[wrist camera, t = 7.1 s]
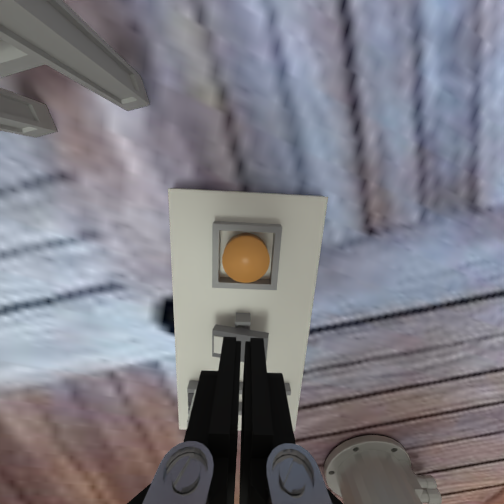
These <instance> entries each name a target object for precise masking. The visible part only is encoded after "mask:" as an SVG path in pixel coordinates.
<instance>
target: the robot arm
mask: <svg viewBox="0 0 504 504" xmlns="http://www.w3.org/2000/svg"><path fill="white" fill-rule="evenodd" d="M240 361H241V341H236V337H223V343H222V349H221V356H220V362H219V369H218V371H205V370H202V371H201V373H200V377H199V381H198V385H197V389H196V394H195V398H194V402H193V406H192V410H191V414H190V418H189V422H188V426H187V431H186V435H185V439H184V442H183V443H180V444H178V445H176V446H175V447H173V448H172V449H171V450H170V451H169V452H168V453H167V454H166V455H165V456H164V458H163V460H162V461H161V463H160V465H159V467H158V470H157V472H156V474H155V476H154V479H153V481H152V483H151V484H150V485H149V486H147V487H146V488H145V489H144V490H143V491H141V492H140V493H139V494H138V495H137V496H136V497H134V498H133V499H132V500H131V501H130V502H129V503H127V504H234V491H235V473H236V455H237V437H238V413H239V387H240ZM324 474H325V478H326V482H327V484H328V486H329V488H330V489H331V490H332V491H333V492H334V493H336V494H337V495H339V496H341V497H342V499H343V502H344V504H422V503H428V504H441V502H442V498H441V495H440V492H439V490H438V489H437V484H436V481H435V479H434V478H433V476H431V475H421V476H417V475H416V474H415V473H413V471H412V470H411V460H410V458H409V455H408V454H407V452H406V451H405V449H404V447H403V446H402V445H401V444H400V443H399V442H397V441H395V440H393V439H391V438H388V437H385V436H379V435H366V436H359V437H356V438H352V439H350V440H347V441H345V442H344V443H342V444H340V445H339V446H337V447H336V448H335V449H334V450H333V451H332V452H331V453H330V454H329V456H328V458H327V459H326V461H325V465H324ZM239 504H343V503H342V502H341V501H340V500H339V499H337V498H336V497H335V496H334V495H333V494H332V493H331V492H330V491H329V490H328V489H327V488H326V486H325V483H324V481H323V478H322V475H321V473H320V470H319V467H318V465H317V463H316V462H315V460H314V458H313V457H312V456H311V455H310V453H309V452H308V451H307V450H305V449H304V448H302V447H301V446H298V445H296V444H295V438H294V433H293V427H292V422H291V416H290V411H289V406H288V400H287V395H286V389H285V384H284V378H283V374H282V373H267V368H266V358H265V348H264V339H263V338H250V341H245V355H244V372H243V389H242V419H241V459H240V500H239Z"/></svg>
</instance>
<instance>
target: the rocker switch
mask: <svg viewBox="0 0 504 504" xmlns="http://www.w3.org/2000/svg"><path fill="white" fill-rule="evenodd" d="M223 337H236V341H241V361H240V362H244V355H245V341H250V338H263V339H264V348H265V358H266V360H267V350H268V339H269V333H267V332H260V331H254V330H248V329H247V326H243V325H239V326H238V328H236V327H229V326H223V325H217V324H216V325H215V326H214V328H213V330H212V356H213V357H218V358H220V356H221V349H222V343H223Z"/></svg>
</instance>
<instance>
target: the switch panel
mask: <svg viewBox="0 0 504 504" xmlns="http://www.w3.org/2000/svg"><path fill="white" fill-rule="evenodd" d="M168 197H169V219H170V240H171V262H172V284H173V306H174V327H175V349H176V371H177V393H178V414H179V429H187V419H188V415H189V411H190V407H188V393H194V391H195V389H197V385H198V381H199V377H200V373H201V371H202V370H205V371H218V369H219V362H220V358H218V357H213V356H212V330H213V328H214V326H215V325H216V324H217V325H223V326H229V327H236V328H238V326H239V325H243V326H247V329H248V330H254V331H260V332H267V333H269V339H268V350H267V360H266V368H267V373H282V374H283V378H284V384H285V389H286V395H287V400H288V406H289V411H290V416H291V422H292V427H293V431H294V432H295V427H296V420H297V413H298V406H299V399H300V392H301V384H302V377H303V370H304V363H305V356H306V349H307V342H308V335H309V328H310V321H311V314H312V307H313V300H314V293H315V286H316V278H317V271H318V264H319V257H320V250H321V243H322V236H323V229H324V222H325V215H326V208H327V201H328V197H325V196H315V195H296V194H278V193H259V192H241V191H222V190H204V189H185V188H170V189H168ZM241 233H251V234H254V235H256V236H258V237H259V238H261V239H262V240H263V241H264V243H265V244H266V247H267V250H268V253H269V258H270V263H269V267H268V270H267V272H266V273H265V274H264V276H262V277H261V278H260V279H258V280H257V281H254V282H250V283H242V282H238V281H235V280H233V279H232V278H230V277H229V276H228V275H227V273H226V272H225V270H224V268H223V264H222V256H223V253H224V249H225V247H226V244H227V243H228V241H229V240H230V239H231V238H232V237H234V236H236V235H238V234H241ZM243 372H244V362H240V387H239V413H238V430H241V419H242V389H243Z"/></svg>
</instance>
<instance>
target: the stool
mask: <svg viewBox="0 0 504 504" xmlns="http://www.w3.org/2000/svg"><path fill="white" fill-rule="evenodd" d="M0 39H2V40H0V78H2V77H5V76H8V75H12V74H15V73H18V72H22V71H25V70H28V69H32V68H35V67H38V66H41V65H47V66H49V67H51V68H53V69H54V70H56V71H58V72H60V73H61V74H63V75H65V76H67V77H68V78H70V79H72V80H74V81H75V82H77V83H79V84H81V85H82V86H84V87H86V88H88V89H89V90H91V91H93V92H95V93H96V94H98V95H100V96H102V97H103V98H105V99H107V100H109V101H111V102H112V103H114V104H116V105H118V106H119V107H121V108H123V109H125V110H126V111H131V110H134V109H138V108H141V107H145V106H148V105H150V103H149V100H148V97H147V94H146V91H145V88H144V85H143V82H142V79H141V76H140V75H139V74H138V73H137V72H136V71H135V70H134V69H133V68H132V67H130V66H129V65H128V64H127V63H126V62H125V61H124V60H123V59H122V58H121V57H120V56H119V55H118V54H117V53H116V52H115V51H114V50H113V49H112V48H111V47H110V46H109V45H108V44H107V43H106V42H105V41H104V40H103V39H102V38H101V37H99V36H98V35H97V34H96V33H95V32H94V31H93V30H92V29H91V28H90V27H89V26H88V25H87V24H86V23H85V22H84V21H83V20H82V19H81V18H80V17H79V16H78V15H77V14H76V13H75V12H74V11H73V10H72V9H71V8H70V7H68V6H67V5H66V4H65V3H64V2H63V1H62V0H0ZM0 131H5V132H10V133H15V134H20V135H26V136H31V137H40V136H44V135H47V134H51V133H54V132H58V131H57V129H56V127H55V125H54V122H53V120H52V118H51V115H50V113H49V111H48V109H47V106H46V104H43V103H40V102H38V101H35V100H32V99H30V98H27V97H24V96H22V95H19V94H16V93H13V92H11V91H8V90H5V89H3V88H0Z"/></svg>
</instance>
